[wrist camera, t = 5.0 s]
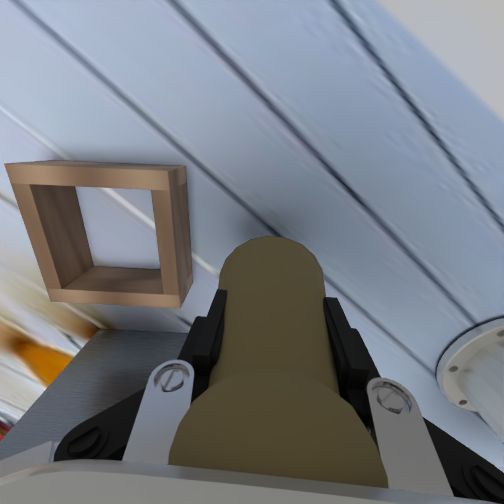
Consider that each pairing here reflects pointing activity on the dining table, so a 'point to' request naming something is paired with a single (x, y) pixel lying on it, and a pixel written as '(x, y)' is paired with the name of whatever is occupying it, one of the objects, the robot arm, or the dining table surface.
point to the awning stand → (92, 384)
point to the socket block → (75, 241)
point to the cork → (276, 379)
